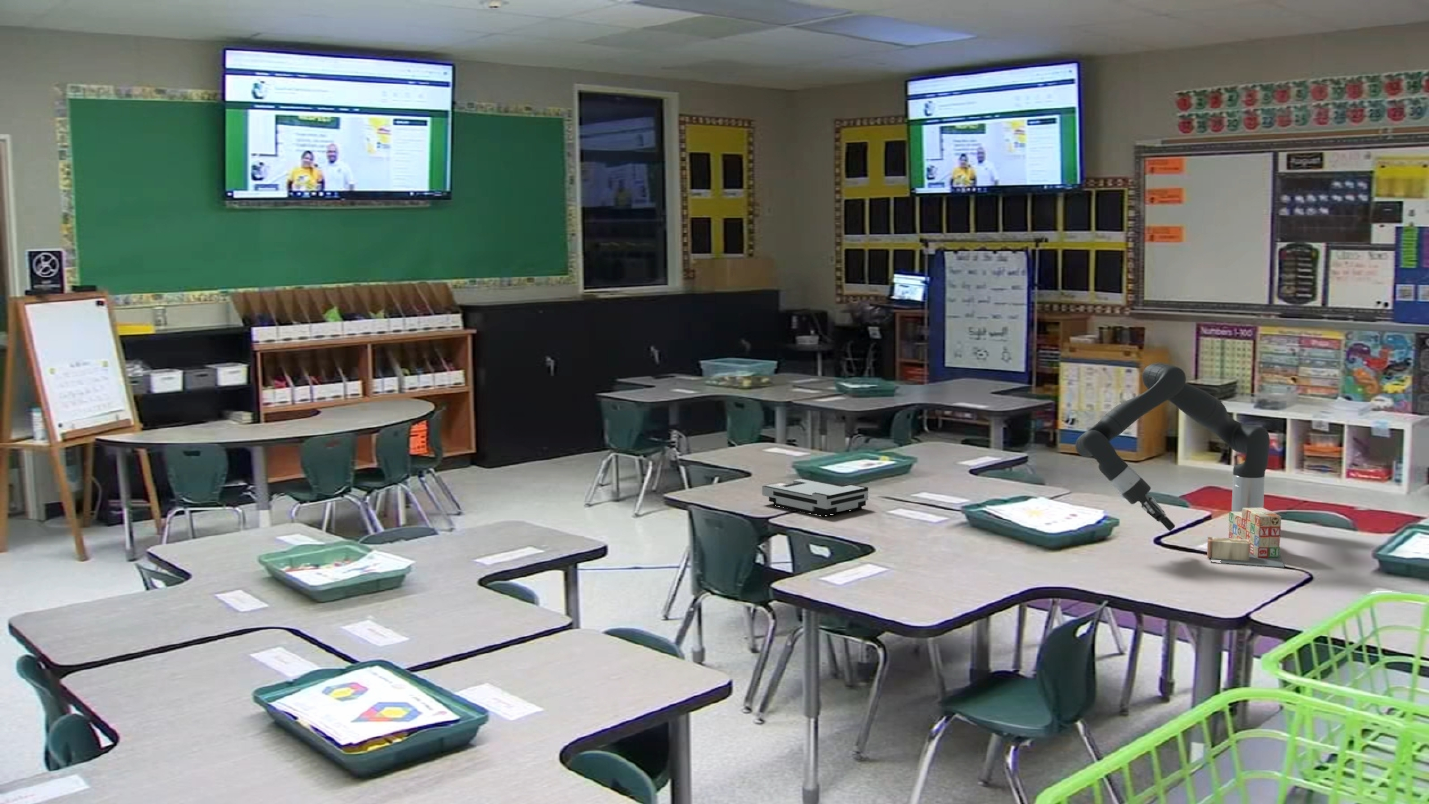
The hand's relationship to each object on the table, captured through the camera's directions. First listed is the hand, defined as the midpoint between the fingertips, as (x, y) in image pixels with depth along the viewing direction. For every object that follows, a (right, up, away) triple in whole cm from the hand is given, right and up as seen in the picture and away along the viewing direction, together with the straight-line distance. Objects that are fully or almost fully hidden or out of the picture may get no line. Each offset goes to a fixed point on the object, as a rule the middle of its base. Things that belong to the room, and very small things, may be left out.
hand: (1172, 528), depth 353 cm
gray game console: (-99, -1, +74) cm, 123 cm away
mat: (+19, -9, -5) cm, 22 cm away
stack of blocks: (+26, -7, +5) cm, 27 cm away
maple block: (+9, -5, -2) cm, 11 cm away
